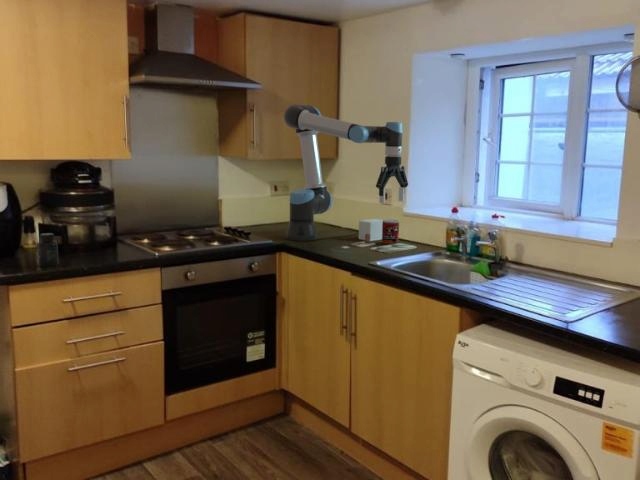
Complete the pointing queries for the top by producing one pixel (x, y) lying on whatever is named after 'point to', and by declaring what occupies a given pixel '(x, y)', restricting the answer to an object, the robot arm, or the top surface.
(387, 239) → the canned food
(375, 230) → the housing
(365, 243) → the plate
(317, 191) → the robot arm
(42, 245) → the supplement bottle
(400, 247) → the board
